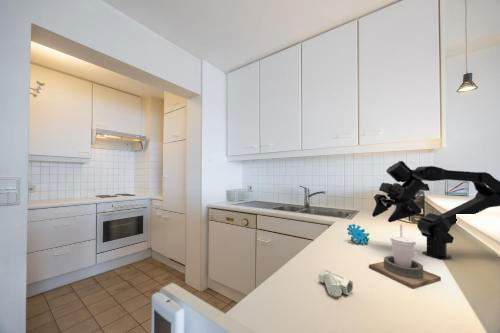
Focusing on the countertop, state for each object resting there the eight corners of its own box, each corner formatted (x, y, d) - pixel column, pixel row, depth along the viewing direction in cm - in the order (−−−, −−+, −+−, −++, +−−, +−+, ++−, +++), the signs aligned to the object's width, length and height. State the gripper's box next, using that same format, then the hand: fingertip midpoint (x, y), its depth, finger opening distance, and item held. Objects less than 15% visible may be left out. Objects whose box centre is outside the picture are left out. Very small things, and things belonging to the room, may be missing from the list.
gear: (353, 242, 87) (345, 221, 94) (346, 248, 91) (338, 228, 98) (376, 244, 89) (366, 224, 96) (367, 250, 93) (358, 230, 100)
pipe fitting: (339, 304, 49) (353, 292, 53) (338, 288, 49) (352, 277, 53) (311, 288, 55) (325, 279, 59) (310, 274, 55) (325, 266, 59)
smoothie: (405, 265, 67) (404, 222, 67) (421, 275, 61) (421, 227, 61) (385, 265, 67) (385, 222, 67) (399, 274, 60) (399, 227, 61)
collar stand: (395, 262, 72) (395, 251, 72) (440, 280, 60) (440, 268, 60) (368, 267, 67) (368, 256, 67) (412, 288, 55) (412, 275, 55)
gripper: (378, 175, 90) (353, 200, 89) (413, 176, 71) (382, 207, 70) (395, 193, 90) (371, 218, 89) (435, 199, 71) (404, 231, 70)
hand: (380, 218), depth 80 cm, fingers open, 9 cm apart
